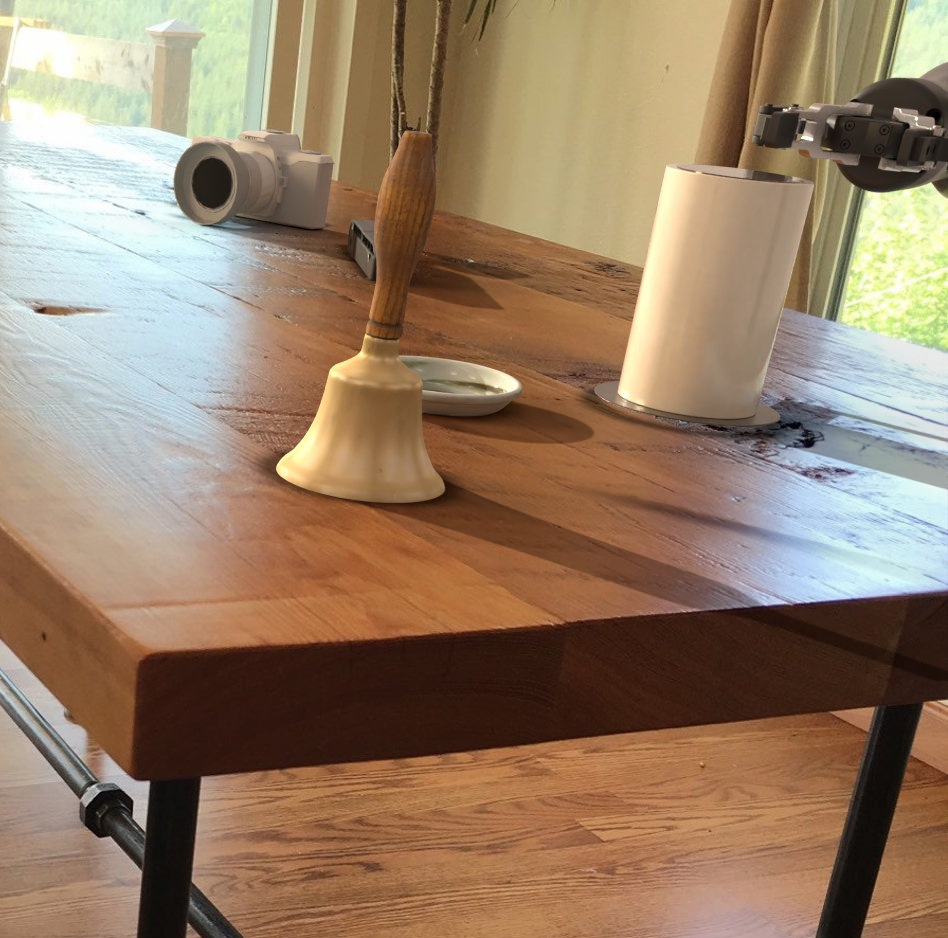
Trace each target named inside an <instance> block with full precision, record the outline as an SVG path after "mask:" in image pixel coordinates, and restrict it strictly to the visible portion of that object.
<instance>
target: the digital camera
mask: <svg viewBox="0 0 948 938" xmlns="http://www.w3.org/2000/svg"><path fill="white" fill-rule="evenodd" d="M334 165H335V162H334V160H333V156H332V155H329V154H325V153H322V151H319V150H312V149H302V146H301V140H300V136H299V134H296V133H290V132H289V131H281V130H278V129H261V130H245V131H242V132H240V133H239V134H238V135H237V139H234V138H228V137H220V136H213V135H212V136H211V135H194V136H193V137H192V138H191V140H190V144H189V147H188V148H186V149H185V150H184V151H183V153H182V154H181V155H180V157H179V159H178V161H177V163H176V166H175V169H174V172H173V173H174V174H173V193H174V198H175V200H176V205H177V207H178V208H179V209H180V211H181V213H182V214H183V215H184V216H185V217H186V218H187V219H188V220H189V221H190V222H191V221H192V222H193V223H195V224H198V225H202V226H204V225H208V226H209V225H221V224H225V223H226V222H229V221H230V220H232V219H233V218H234V217H235V216H238V217H243V218H248V219H252V220H258V221H264V222H269V223H274V224H280V225H285V226H291V227H296V228H301V229H308V230H319V229H321V230H322V229H324V228H326V224H327V214H328V208H329V202H330V201H329V200H330V192H331V187H332V186H331V185H332V177H333V170H334Z"/></svg>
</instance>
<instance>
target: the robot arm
mask: <svg viewBox="0 0 948 938" xmlns="http://www.w3.org/2000/svg"><path fill="white" fill-rule="evenodd" d="M798 135H802V137H801V138H800V139H799V140H797V139H798ZM750 143H752V144H755V146H758V147H765V148H767V149H774V150H775V149H776V150H780V151H786V150H787V149H789V150H797V151H798V154H799V155H800V156H801V157H806V158H811V159H816V160H818V159H819V160H831V161H832V162H833V163H835V164H836V166H837V168H838V170H839V171H840V173H841V174H842V176H843V177H844V178H845V179H846V180H847V181H848V182H849V183H850V184H852V185H853V186H855V187H857V188H859V190H863V191H866V192H870V193H876V194H883V193H884V194H885V193H893V192H899V191H905V190H911V189H915V188H920V187H923V186H926V185H928V184H930V183H931V184H932V186H933V187H934V189H935V190H936V191H937V192H938V193H939V194H940V195H941V196H942V197H943V198H945V199H947V200H948V61H946V62H943V63H941V64H939V65H937V66H935V67H933V68H931V69H930V70H928V71H927V72H925V73H924V74H922V75H921V76H920V77H888V78H883V79H880V80H877V81H875V82H872V83H870V84H869V85H867V86H865V87H863V88H862V89H861V90H860V91H858V92H857V93H856V94H855V95H854V96H852V97H851V99H849V100H848V101H847V103H846V104H843V105H842V104H832V103H820V102H819V103H818V102H814V103H812V104H811V105H810V106H809V108H807V109H805V108H804V107H803V106H800V104H798V103H791V105H788V104H785V105H784V104H773V103H767V102H766V103H765V104H760V105H759V109H758V112H757V117H756V120H755V124H754V129H753V133H752V138H751V142H750ZM822 148H826V149H822Z"/></svg>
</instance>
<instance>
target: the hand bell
mask: <svg viewBox="0 0 948 938" xmlns="http://www.w3.org/2000/svg"><path fill="white" fill-rule="evenodd" d="M433 154H434V153H433V134H432V133H429V132H424V131H416V130H405V131H404V132H403V134H402V136H401V139H400V141H399V144H398V146H397V149H396V151H395V153H394V155H393V157H392V159H391V161H390V163H389V165H388V167H387V169H386V171H385V174H384V175H383V179H382V182H381V185H380V188H379V192H378V196H377V201H376V208H375V217H374V221H375V227H374V243H375V253H376V260H377V277H376V281H375V286H374V292H373V295H372V301H371V305H370V309H369V310H370V311H369V315H368V319H369V320H368V321H367V323H366V326H365V327H366V328H365V334H364V337H363V342H362V346H361V350H360V352H359V353H358V354H357V355H355V356H353V357H351V358H349V359H347V360H344V361H342V362H339V363H336V364H334V365H333V366H332V367H331V368H330V370H329V372H328V376H327V380H326V384H325V386H324V387H325V388H324V391H323V395H322V397H321V401H320V405H319V407H318V410H317V412H316V415H315V417H314V419H313V421H312V423H311V425H310V427H309V429H308V431H307V432H306V433H305V435H304V437H303V438H302V439H301V440H300V442H299V443H298V444H297V445H296V446H295V447H294V449H292V450H291V451H289V452H287V453H286V454H285V455H283V457H281V459H280V460H279V461H278V463H277V465H276V468H275V469H276V472H277V474H278V475H279V476H280V477H281V478H282V479H284V480H285V481H286V482H288V483H291V484H292V485H295V486H296V487H300V488H303V489H305V490H308V491H311V492H314V493H318V494H322V495H326V496H331V497H335V498H341V499H347V500H351V501H360V502H370V503H385V504H387V503H388V504H405V503H417V502H424V501H430V500H433V499H436V498H438V497H440V496H442V495H443V494H444V493H445V491H446V487H445V483H444V480H443V478H442V477H441V475H440V473H438V472H437V471H436V469H435V468H434V466H433V464H432V461H431V458H430V457H429V454H428V451H427V448H426V443H425V438H424V431H423V413H422V391H423V390H424V389H423V383H422V379H421V378H420V377H419V375H418V374H416V373H415V372H413V371H412V370H410V369H409V368H408V367H407V366H406V365H405V364H404V363H403V362H402V361H401V360H400V358H399V356H400V353H399V352H400V345H401V340H400V338H401V337H402V336H403V334H404V326H403V324H404V322H405V317H406V310H407V302H408V296H409V295H408V294H409V288H410V283H411V279H412V276H413V274H414V271H415V268H416V266H417V264H418V262H419V260H420V258H421V256H422V253H423V251H424V249H425V246H426V244H427V240H428V237H429V234H430V231H431V227H432V223H433V219H434V212H435V207H436V197H437V180H436V179H437V178H436V170H435V169H436V168H435V162H434V155H433Z"/></svg>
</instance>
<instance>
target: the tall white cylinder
mask: <svg viewBox="0 0 948 938" xmlns="http://www.w3.org/2000/svg"><path fill="white" fill-rule="evenodd" d="M661 182H662V183H661V187H660V190H659V196H658V200H657V205H656V209H655V214H654V219H653V224H652V228H651V233H650V237H649V242H648V247H647V252H646V256H645V260H644V266H643V270H642V275H641V280H640V284H639V289H638V293H637V299H636V302H635V307H634V312H633V317H632V322H631V326H630V330H629V335H628V340H627V345H626V349H625V355H624V359H623V363H622V368H621V373H620V378H619V381H620V382H619V386H618V394H619V395H620V396H621V397H623V398H624V399H626V400H628V401H630V402H633V403H636V404H638V405H641V406H645V407H648V408H652V409H656V410H660V411H664V412H669V413H674V414H680V415H686V416H694V417H702V418H714V419H741V418H748V417H751V416H754V415H755V414H756V413H757V409H758V405H759V402H760V400H761V398H762V393H763V389H764V385H765V381H766V378H767V373H768V370H769V366H770V362H771V357H772V354H773V350H774V346H775V342H776V338H777V333H778V330H779V326H780V322H781V318H782V314H783V310H784V306H785V302H786V298H787V295H788V291H789V287H790V283H791V279H792V275H793V270H794V267H795V264H796V258H797V256H798V251H799V247H800V243H801V239H802V235H803V231H804V228H805V223H806V219H807V215H808V211H809V207H810V205H811V204H810V203H811V200H812V197H813V196H812V195H813V193H814V192H813V191H814V188H815V182H813V181H812V180H809V179H805V178H802V177H796V176H791V175H787V174H786V175H785V174H781V173H774V172H770V171H769V172H768V171H761V170H755V169H747V168H739V167H729V166H719V165H709V164H693V163H691V164H690V163H669V164H666V165H665V167H664V172H663V177H662V181H661Z"/></svg>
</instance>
